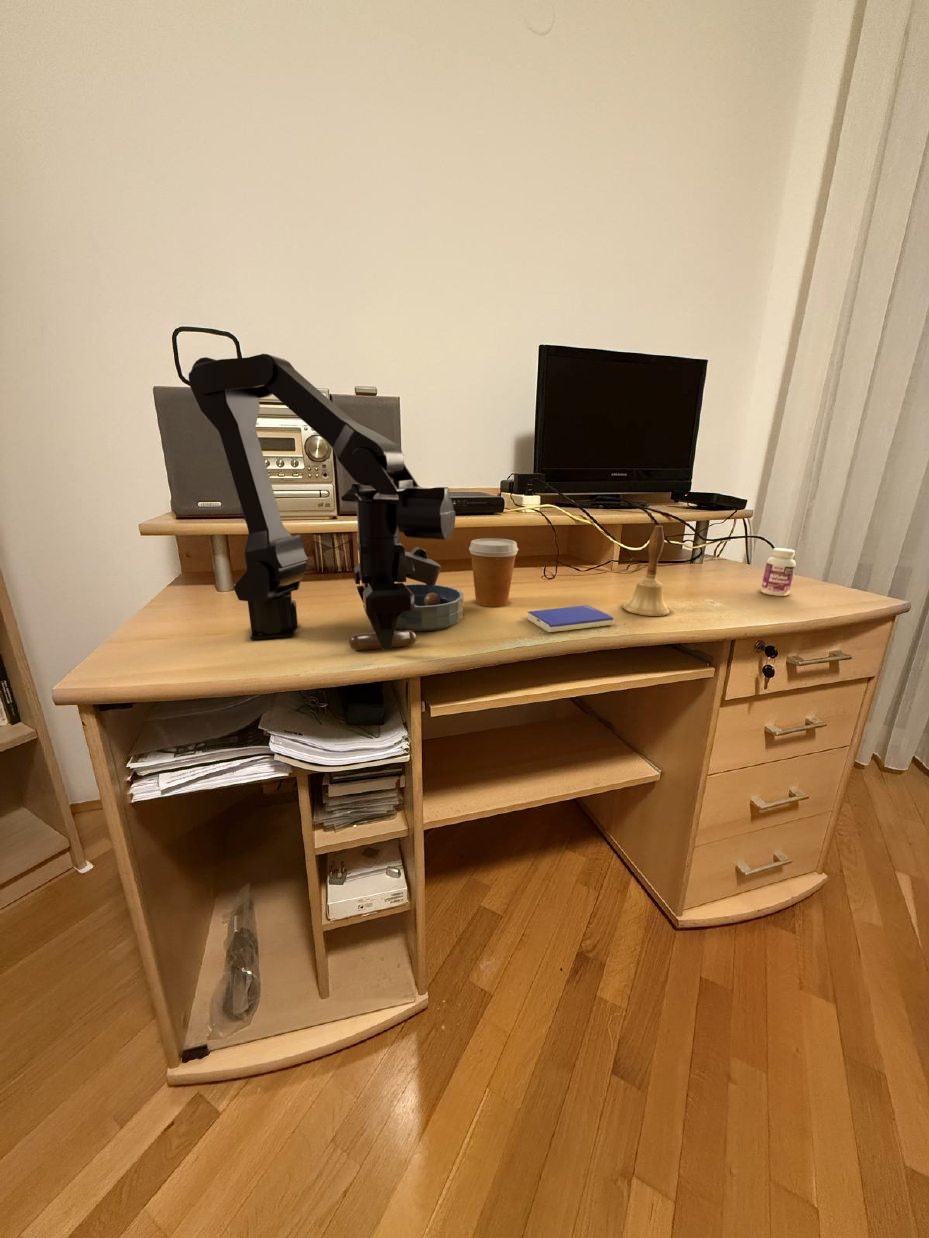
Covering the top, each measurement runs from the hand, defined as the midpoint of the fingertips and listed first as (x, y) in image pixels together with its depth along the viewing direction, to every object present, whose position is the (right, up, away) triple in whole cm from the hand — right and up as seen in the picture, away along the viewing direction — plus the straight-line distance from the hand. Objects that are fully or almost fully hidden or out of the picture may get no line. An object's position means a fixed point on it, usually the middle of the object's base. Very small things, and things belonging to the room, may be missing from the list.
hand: (383, 641), depth 73 cm
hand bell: (+47, +5, +21) cm, 51 cm away
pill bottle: (+80, +9, +35) cm, 88 cm away
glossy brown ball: (+6, +5, +17) cm, 19 cm away
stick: (0, -1, 0) cm, 1 cm away
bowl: (+4, +3, +13) cm, 14 cm away
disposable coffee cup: (+17, +6, +24) cm, 31 cm away
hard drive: (+30, +3, +13) cm, 33 cm away
